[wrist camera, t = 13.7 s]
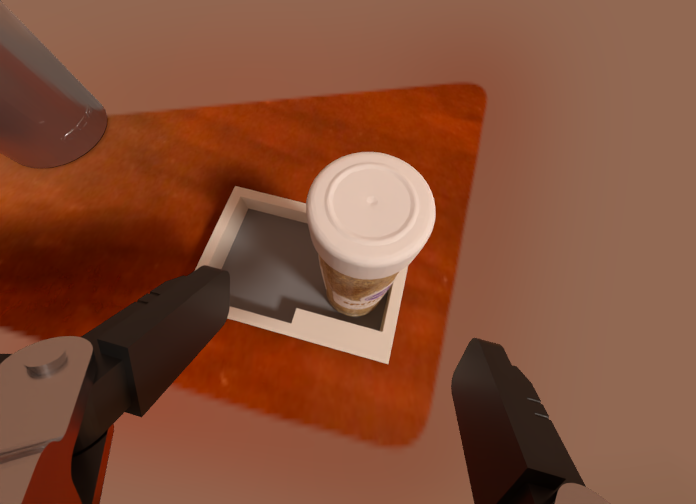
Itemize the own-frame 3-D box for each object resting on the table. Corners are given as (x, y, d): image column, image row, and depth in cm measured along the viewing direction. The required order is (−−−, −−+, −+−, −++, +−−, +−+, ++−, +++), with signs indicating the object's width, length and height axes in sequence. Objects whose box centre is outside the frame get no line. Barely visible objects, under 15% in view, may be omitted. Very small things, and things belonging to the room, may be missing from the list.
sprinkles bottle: (355, 329, 21) (377, 295, 8) (313, 288, 22) (275, 201, 9) (394, 286, 22) (466, 199, 9) (353, 249, 23) (367, 125, 10)
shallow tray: (196, 309, 22) (178, 304, 19) (245, 201, 25) (235, 185, 23) (382, 362, 21) (388, 364, 18) (407, 242, 24) (415, 230, 22)
